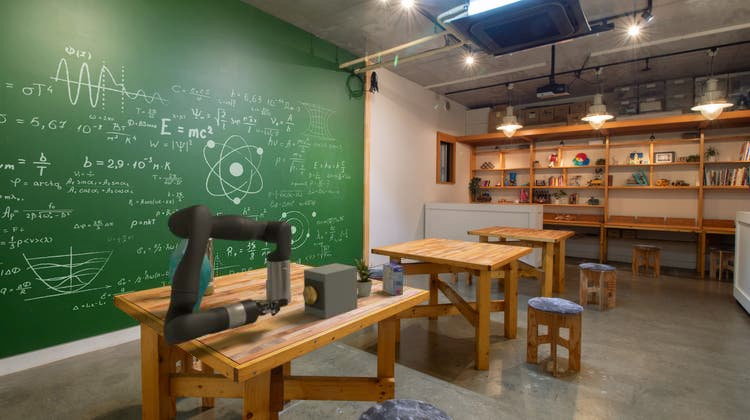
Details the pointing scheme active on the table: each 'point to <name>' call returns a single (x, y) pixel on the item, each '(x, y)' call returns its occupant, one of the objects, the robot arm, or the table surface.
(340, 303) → the housing
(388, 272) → the ink cartridge box
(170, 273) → the crystal
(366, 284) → the house plant
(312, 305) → the collar
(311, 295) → the peg
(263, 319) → the table surface
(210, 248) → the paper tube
